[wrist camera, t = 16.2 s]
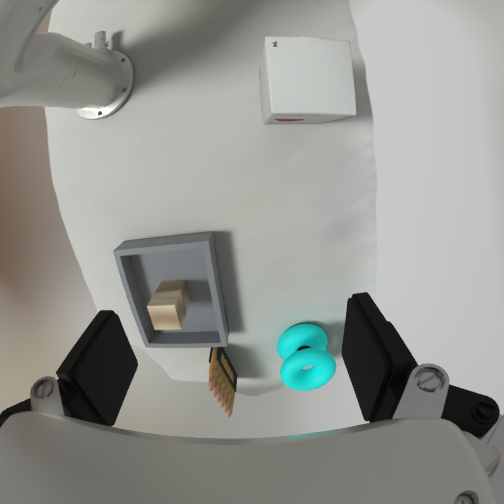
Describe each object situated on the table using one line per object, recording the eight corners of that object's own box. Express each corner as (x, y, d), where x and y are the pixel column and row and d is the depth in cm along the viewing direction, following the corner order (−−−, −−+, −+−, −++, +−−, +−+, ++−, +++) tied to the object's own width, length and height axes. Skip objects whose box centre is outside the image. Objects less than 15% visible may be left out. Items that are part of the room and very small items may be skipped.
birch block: (161, 281, 46) (146, 306, 38) (185, 279, 46) (174, 305, 38) (167, 302, 48) (154, 329, 40) (190, 301, 47) (181, 329, 40)
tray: (124, 241, 44) (113, 250, 40) (212, 231, 44) (208, 241, 39) (152, 333, 52) (145, 347, 47) (228, 331, 51) (227, 346, 47)
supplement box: (262, 125, 37) (268, 114, 24) (258, 70, 34) (262, 34, 20) (322, 125, 37) (358, 117, 23) (318, 71, 34) (351, 39, 20)
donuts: (349, 366, 42) (313, 398, 46) (335, 332, 52) (305, 363, 55) (304, 348, 40) (269, 384, 44) (296, 313, 50) (267, 347, 53)
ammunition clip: (211, 343, 52) (203, 388, 41) (219, 341, 52) (213, 386, 41) (229, 376, 56) (226, 420, 45) (237, 375, 56) (235, 418, 45)
